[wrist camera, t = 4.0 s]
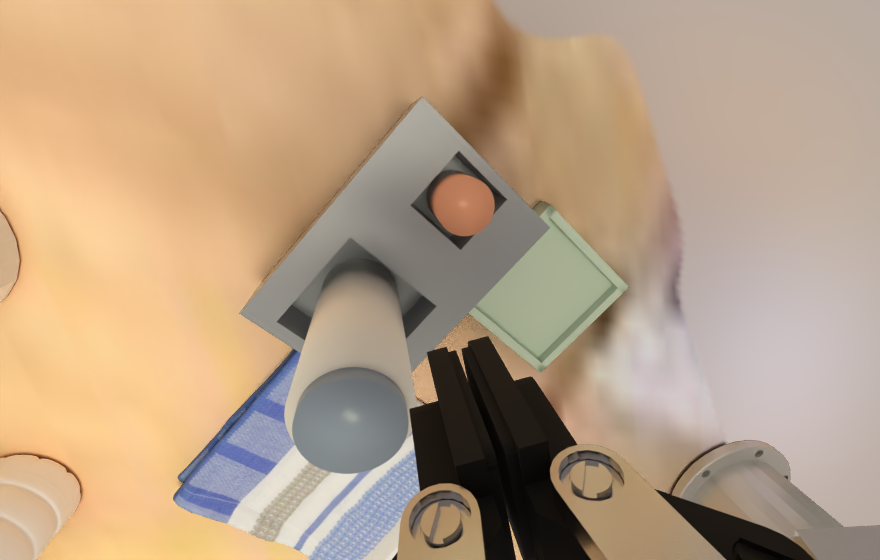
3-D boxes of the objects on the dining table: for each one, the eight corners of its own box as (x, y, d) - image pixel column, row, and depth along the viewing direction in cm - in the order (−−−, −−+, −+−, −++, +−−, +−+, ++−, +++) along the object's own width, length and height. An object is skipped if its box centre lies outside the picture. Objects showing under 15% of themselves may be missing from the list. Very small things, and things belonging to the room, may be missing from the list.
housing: (520, 211, 28) (550, 227, 24) (378, 363, 30) (380, 404, 26) (412, 103, 25) (422, 96, 20) (261, 282, 27) (239, 313, 22)
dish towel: (401, 585, 40) (403, 617, 37) (172, 477, 32) (154, 509, 29) (527, 468, 37) (539, 493, 35) (314, 318, 29) (309, 337, 26)
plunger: (486, 194, 25) (506, 204, 21) (452, 231, 25) (466, 247, 22) (451, 159, 24) (465, 164, 20) (416, 198, 24) (424, 210, 20)
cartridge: (412, 289, 27) (446, 416, 15) (365, 341, 27) (361, 501, 16) (354, 243, 25) (340, 343, 13) (305, 299, 26) (250, 442, 14)
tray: (615, 279, 31) (628, 287, 30) (532, 361, 33) (540, 372, 31) (540, 200, 28) (550, 204, 27) (452, 294, 29) (456, 303, 28)
